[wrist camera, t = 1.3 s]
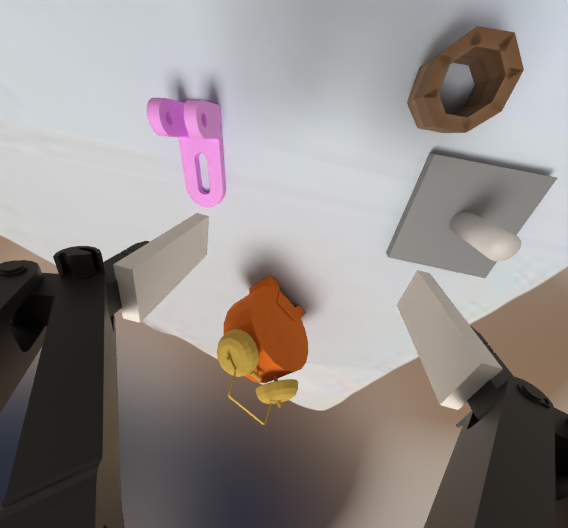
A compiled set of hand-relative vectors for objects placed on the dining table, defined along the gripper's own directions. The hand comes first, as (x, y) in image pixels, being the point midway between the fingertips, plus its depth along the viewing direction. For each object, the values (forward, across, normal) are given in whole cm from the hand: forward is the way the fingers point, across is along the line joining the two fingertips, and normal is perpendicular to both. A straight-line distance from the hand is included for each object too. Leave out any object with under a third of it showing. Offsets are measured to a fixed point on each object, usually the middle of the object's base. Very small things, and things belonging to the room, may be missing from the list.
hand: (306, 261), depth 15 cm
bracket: (+22, -16, 0) cm, 27 cm away
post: (+21, +20, +1) cm, 29 cm away
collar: (+21, +11, +14) cm, 27 cm away
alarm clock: (+21, -2, -21) cm, 30 cm away
